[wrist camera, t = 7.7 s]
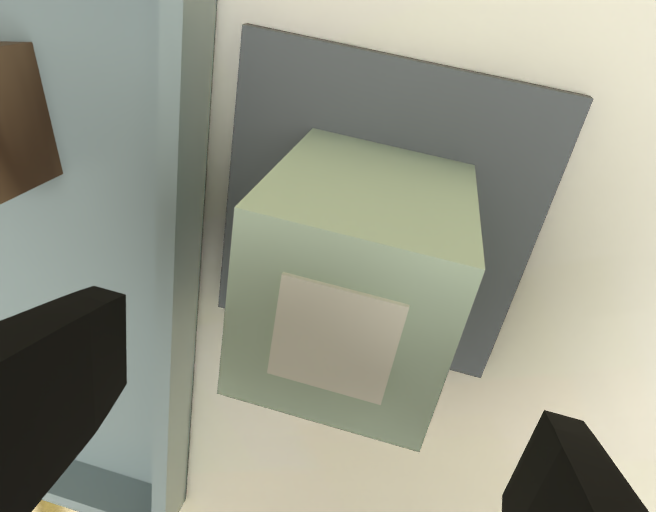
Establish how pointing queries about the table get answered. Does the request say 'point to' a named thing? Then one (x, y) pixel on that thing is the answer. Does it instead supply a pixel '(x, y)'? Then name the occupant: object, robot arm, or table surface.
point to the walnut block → (24, 124)
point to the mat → (412, 142)
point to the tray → (120, 220)
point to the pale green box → (352, 285)
